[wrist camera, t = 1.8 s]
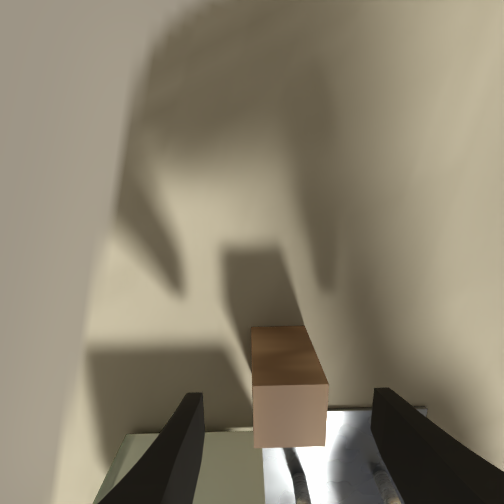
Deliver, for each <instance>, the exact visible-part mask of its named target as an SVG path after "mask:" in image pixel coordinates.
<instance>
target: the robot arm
mask: <svg viewBox="0 0 504 504" xmlns="http://www.w3.org/2000/svg"><path fill="white" fill-rule="evenodd" d="M370 429H371V432H372V435H373V437H374V440H375V443H376V445H377V448H378V450H379V453H380V455H381V458H382V460H383V462H384V464H385V466H386V468H387V470H388V472H389V474H390V476H391V477H392V479H393V481H394V483H395V485H396V487H397V489H398V491H399V493H400V495H401V497H402V499H403V501H404V503H405V504H504V472H503V471H502V470H500V469H498V468H497V467H495V466H494V465H492V464H491V463H489V462H488V461H486V460H484V459H483V458H481V457H480V456H478V455H477V454H475V453H474V452H472V451H471V450H469V449H468V448H467V447H465V446H464V445H462V444H461V443H460V442H458V441H457V440H455V439H454V438H453V437H451V436H450V435H449V434H447V433H446V432H445V431H443V430H442V429H441V428H439V427H438V426H437V425H435V424H434V423H433V422H431V421H430V420H429V419H428V418H426V417H425V416H424V415H423V414H421V413H420V412H419V411H418V410H416V409H415V408H414V407H413V406H411V405H410V404H409V403H408V402H406V401H405V400H404V399H403V398H401V397H400V396H399V395H398V394H396V393H395V392H394V391H393V390H391V389H390V388H374V396H373V406H372V416H371V426H370ZM204 438H205V426H204V410H203V394H202V393H187V394H186V395H185V396H184V398H183V400H182V401H181V403H180V405H179V406H178V408H177V409H176V411H175V412H174V414H173V415H172V417H171V418H170V420H169V421H168V423H167V424H166V425H165V427H164V428H163V430H162V431H161V432H160V434H159V435H158V436H157V438H156V439H155V440H154V442H153V443H152V444H151V445H150V447H149V448H148V449H147V450H146V452H145V453H144V454H143V455H142V457H141V458H140V459H139V460H138V461H137V463H136V464H135V465H134V466H133V467H132V468H131V469H130V471H129V472H128V473H127V474H126V475H125V476H124V477H123V478H122V479H121V480H120V481H119V482H118V484H117V485H116V486H115V487H114V488H113V489H112V490H111V491H110V492H109V493H108V494H107V495H106V496H105V497H104V498H103V499H102V500H101V501H100V502H99V503H98V504H192V503H193V499H194V494H195V490H196V485H197V481H198V476H199V471H200V467H201V462H202V454H203V446H204Z"/></svg>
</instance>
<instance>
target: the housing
mask: <svg viewBox="0 0 504 504" xmlns="http://www.w3.org/2000/svg"><path fill="white" fill-rule="evenodd" d="M159 434H160V433H154V434H126V436H125V438H124V440H123V442H122V444H121V446H120V448H119V450H118V453H117V455H116V457H115V459H114V461H113V463H112V465H111V467H110V469H109V471H108V473H107V475H106V477H105V479H104V481H103V483H102V485H101V487H100V489H99V491H98V494H97V496H96V498H95V500H94V502H93V504H98V503H99V502H100V501H101V500H102V499H103V498H104V497H105V496H106V495H107V494H108V493H109V492H110V491H111V490H112V489H113V488H114V487H115V486H116V485H117V484H118V482H119V481H120V480H121V479H122V478H123V477H124V476H125V475H126V474H127V473H128V472H129V471H130V469H131V468H132V467H133V466H134V465H135V464H136V463H137V461H138V460H139V459H140V458H141V457H142V455H143V454H144V453H145V452H146V450H147V449H148V448H149V447H150V445H151V444H152V443H153V442H154V440H155V439H156V438H157V436H158V435H159ZM192 504H265V487H264V470H263V453H262V448H254V436H253V431H231V432H205V438H204V446H203V454H202V462H201V467H200V471H199V476H198V481H197V485H196V490H195V494H194V499H193V503H192Z"/></svg>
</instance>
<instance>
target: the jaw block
mask: <svg viewBox="0 0 504 504" xmlns="http://www.w3.org/2000/svg"><path fill="white" fill-rule="evenodd" d="M251 350H252V397H253V436H254V448H290V447H325V446H326V428H327V410H328V392H329V383H328V381H327V379H326V376H325V374H324V371H323V369H322V366H321V364H320V362H319V359H318V357H317V354H316V352H315V350H314V347H313V345H312V342H311V340H310V338H309V335H308V333H307V330H306V328H305V326H275V327H251Z"/></svg>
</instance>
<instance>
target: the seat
mask: <svg viewBox="0 0 504 504" xmlns="http://www.w3.org/2000/svg"><path fill="white" fill-rule="evenodd" d="M414 408H415V409H416V410H418V411H419V412H420V413H421V414H423V415H424V416H425V417H426V416H427V408H426V407H414ZM371 416H372V408H346V409H328V410H327V428H326V446H325V447H290V448H262V453H263V470H264V487H265V504H405V503H404V501H403V499H402V497H401V495H400V493H399V491H398V489H397V487H396V485H395V483H394V481H393V479H392V477H391V476H390V474H389V472H388V470H387V468H386V466H385V464H384V462H383V460H382V458H381V455H380V453H379V450H378V448H377V445H376V443H375V440H374V437H373V435H372V432H371V429H370V426H371Z"/></svg>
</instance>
